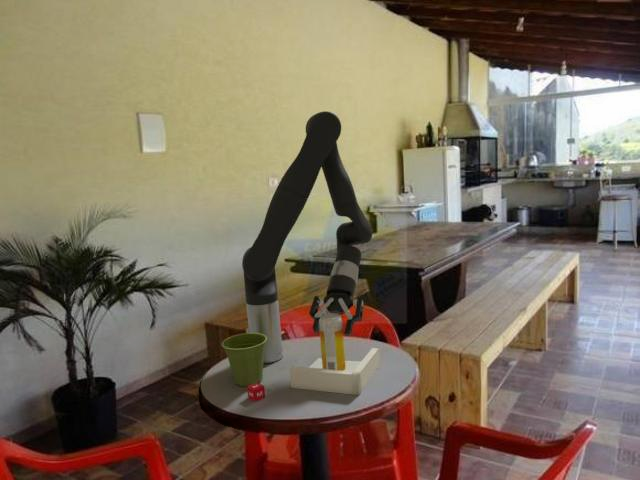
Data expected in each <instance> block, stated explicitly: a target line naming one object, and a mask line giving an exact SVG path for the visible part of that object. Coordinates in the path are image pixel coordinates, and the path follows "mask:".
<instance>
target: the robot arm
mask: <svg viewBox="0 0 640 480" xmlns="http://www.w3.org/2000/svg"><path fill="white" fill-rule="evenodd" d="M341 132H342V123H341V121H340V118H339V116H338V115H337V114H335V113H334V112H332V111H325V110H324V111H319V112H317V113H315V114H313V115H312V116H310V117H309V118H308V120H307V121H306V124H305V138H304V140H303V143H302V146H301V148H300V150H299V151H298V153H297V156H296V157H295V158H294V160H293V161H292V162H291V164H290V165H289V167H288V168H287V169H286V171H285V172H284V174H283V176H282V178H281V179H280V181H279V183H278V185H277V187H276V189H275V191H274V193H273V195H272V197H271V200H270V202H269V206H268V208H267V211H266V214H265V218H264V220H263V224H262V226H261V229H260V231H259V233H258V235H257V237H256V239H255V240H254V242H253V244H252V245H251V246H250V247H249V248H248V249H246V251H245V252H244V254H243V257H242V260H241V261H242V263H241V267H242V270H243V280H244V292H245V295H244V296H245V304H246V305H245V306H246V315H247V322H248V325H247V327H246V329H245V333H259V334H263V335H265V336H267V341H266V342H265V349H264V359H263V364H269V363H274V362H278V361H279V360H281V359H283V357H284V354H283V340H282V331H281V330H282V329H281V319H280V309H279V307H280V306H279V296H278V285H277V277H276V265H277V262H278V259H279V256H280V253H281V251H282V249H283V246H284V244H285V241H286V239H287V237H288V236H289V234H290V233H291V231H292V229H293V228H294V226H295V224H296V222H297V221H298V219H299V217H300V216H301V214H302V211H303V210H304V207H305V206H306V204H307V202H308V199H309V197H310V195H311V193H312V190H313V188H314V186H315V183H316V181H317V179H318V176H319V174H320V171H321V170H322V172H323V176H324V179H325V182H326V185H327V189H328V193H329V195H330V196H329V197H330V198H331V203H332V207H333V209H334V212H335V214H336V215H337V216H338V217H345V218H348V219H349V220H351V221H348V222H343V223H341V224H340V225H339V226H337V229H336V233H335V236H336V238H335V239H336V256H335V260H334V264H333V267H332V270H331V272H330V277H329V281H328V286H327V288H326V289H327V290H326V295H325V296H324V298H323V297H319V296H318V295H315V296H314V297H313V300H312V302H311V306H310V309H309V313H308V314H309V316H310V318H311V319H312V320H314V321H313V324H312V331H313V332H314V334H315V335H320V328H319V320H320V316H322V315H324V314H331V313H334V314H339V315H340V316H343V315H344V314H345V315H346V317H347V319H346V322H345V326H344V330H343V335H344V336H345V337H350V335H352V333H353V329H354V324H355V323H361V322H362V321H363V313H364V306H365V303H364V301H363V299H362V297H358V298H357V299H356V298H355V299H354V297H355V292H356V289H357V284H358V278H359V269H360V264H361V260H362V252H361V250H360V249H359V248H358V247H356V246H359V245H364V244H368V243H369V242H370V241H371V240H372V238H373V229H372V226H371V223H370V222H369V220H368V217H366V216H365V214H364V212H363V210H362V209H361V207H360V205H359V203H358V200H357V196H356V193H355V190H354V189H355V188H354V186H353V183H352V181H351V179H350V177H349V174H348V172H347V170H346V167H345V166H344V164H343V162H342V161H343V160H342V159H341V155H340V153H339V148H338V142H337V141H338V139H339V138H340V136H341V134H342V133H341ZM321 306H322V307H321ZM353 306H355V314H354V315H352V313H351V311H350V309H351V308H352V307H353Z"/></svg>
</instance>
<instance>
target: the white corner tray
mask: <svg viewBox="0 0 640 480" xmlns="http://www.w3.org/2000/svg"><path fill="white" fill-rule="evenodd" d="M345 365H346V368H345V370H344V371H341V370H330V369H323V366H322V357H318V358H317V359H316V360H315V361H314V362H313V363H312V364H310V366H308V367H307V366H297V365H296V366H295V365H293V366H291V367H289V375H290V378H289V379H290V387H291V388H292V389H297V390H298V389H299V390H300V389H301V390H307V391H308V390H309V391H310V390H311V391H318V392H326V393H328V392H329V393H336V394H345V395H354V396H360V395H361V393H362V392H363V391H364V389H365V388H366V386H367V385H368V384H369V382H370V381H371V379H372V378H373V376H374V375H375V373H377V371H378V370H379V368H380V366H381V361H380V349H379V347H378V348H376V347H372V348H370V350H369V351H368V353H367V354H366V355H365V356H364V357H363V359H362V360H361V361H358V360H357V361H356V360H346V359H345Z"/></svg>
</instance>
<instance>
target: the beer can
mask: <svg viewBox="0 0 640 480" xmlns="http://www.w3.org/2000/svg"><path fill="white" fill-rule="evenodd" d="M343 325H344V324H343V319H342V317H341V315H339V314H334V313H331V314H324V315H322V316H320V320H319V328H320V331H319V338H320V349H321V351H320V352H321V358H322V366H323V369H330V370H341V371H344V370H345V368H346V365H345V360H346V353H345V352H346V351H345V339H344V326H343Z"/></svg>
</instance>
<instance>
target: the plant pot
mask: <svg viewBox="0 0 640 480" xmlns="http://www.w3.org/2000/svg"><path fill="white" fill-rule="evenodd" d="M266 341H267V336H265V335H263V334H259V333H246V332H244V333H240V334H235V335H232V336H228V337H227V338H225V339H224V340H223V341H222V342H221V347H222V348H223V349H224V352H225V354H226V356H227V359H228V363H229V365H230V370H231V373H232V376H233V379H234V383H235V385H238V386H240V387H248V386H250V385H253V384H255V383H261V382H262V380H263V377H264V375H263V373H264V363H263V359H264V349H265V342H266Z"/></svg>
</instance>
